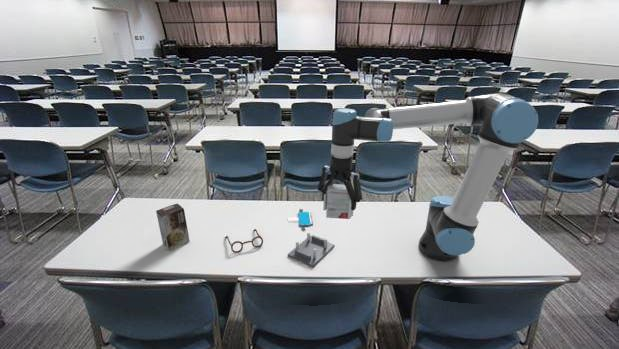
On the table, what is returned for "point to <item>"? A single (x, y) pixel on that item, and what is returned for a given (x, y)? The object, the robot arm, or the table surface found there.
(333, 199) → the ink box
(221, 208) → the table surface
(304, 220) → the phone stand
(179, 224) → the coffee box
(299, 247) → the cradle
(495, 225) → the table surface
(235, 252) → the glasses
